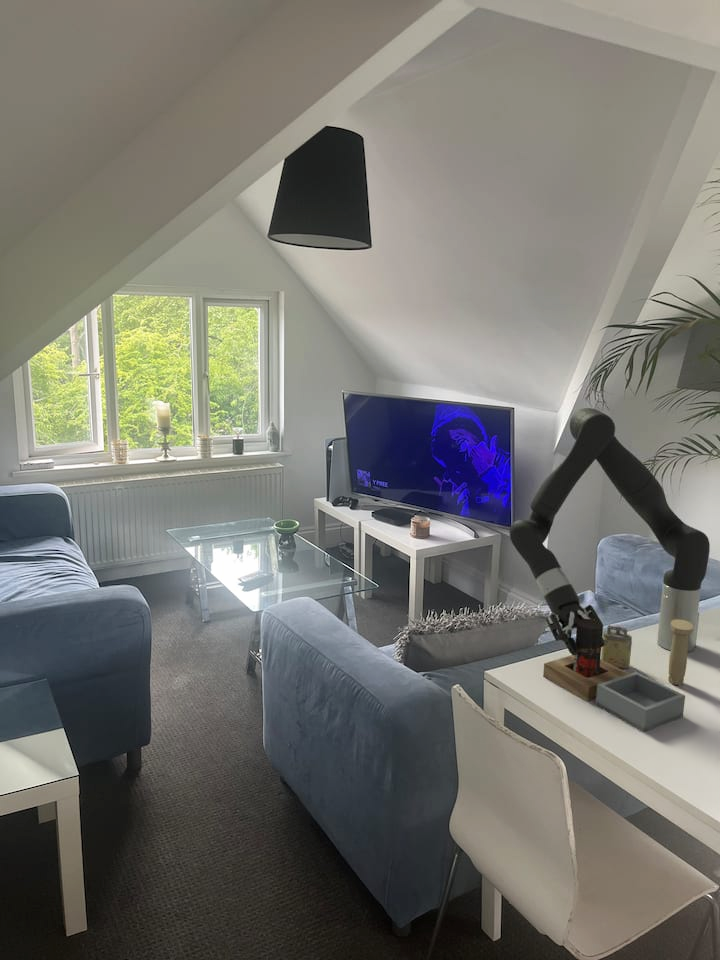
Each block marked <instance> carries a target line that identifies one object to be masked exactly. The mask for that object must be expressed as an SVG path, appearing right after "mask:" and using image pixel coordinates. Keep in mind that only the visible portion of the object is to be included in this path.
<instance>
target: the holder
mask: <svg viewBox="0 0 720 960" xmlns="http://www.w3.org/2000/svg"><path fill="white" fill-rule="evenodd" d="M574 656H575V655H574ZM574 656H573V655H572V654H570V655H568V656H565V657H560V658H558V659H555V660H552V661H548V662H545V663H543V675H542V676H543V677H544V678H545V679H546V680H549V681H550V682H552V683H554V684H555V685H557V686H559V687H560V688H563V689H565V690H566V691H567V692H569V693H572V694H573V695H574V696H577V697H579V698H580V699H582V700H584V701H586V702H589V701H593V700H596V696H597V685H598V684H601V683H604V682H607V681H610V680H613V679H616V678H619V677H622V676H625V675H628V674H630V673H629V672H628V671H625V670H623V669H621V668H620V667H615V666H613V665H611V664H609V663H607V662H605V661H603V660H601V658H600V669H599V675H596V676H593V677H590V678H586V677H584V676H582V675H580V674H579V673H577V672H575V671H573V669H574Z"/></svg>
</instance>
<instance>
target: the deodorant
mask: <svg viewBox="0 0 720 960" xmlns="http://www.w3.org/2000/svg"><path fill="white" fill-rule="evenodd" d="M601 622H602V621H601ZM601 622H599V621H596V620H592V619H581V620H578V621H577V628H576V636H575V643H576V645H577V647H578V649H579V651H580V652H579V653H578V654H576V655H575V656H574V669H573V671H575V672H577V673H579V674H580V675H582V676H584V677H586V678H590V677H593V676H596V675H599V669H600V659H601V652H602V647H601V646H602V638H603V633H604V623H603V622H602V623H601Z"/></svg>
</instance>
